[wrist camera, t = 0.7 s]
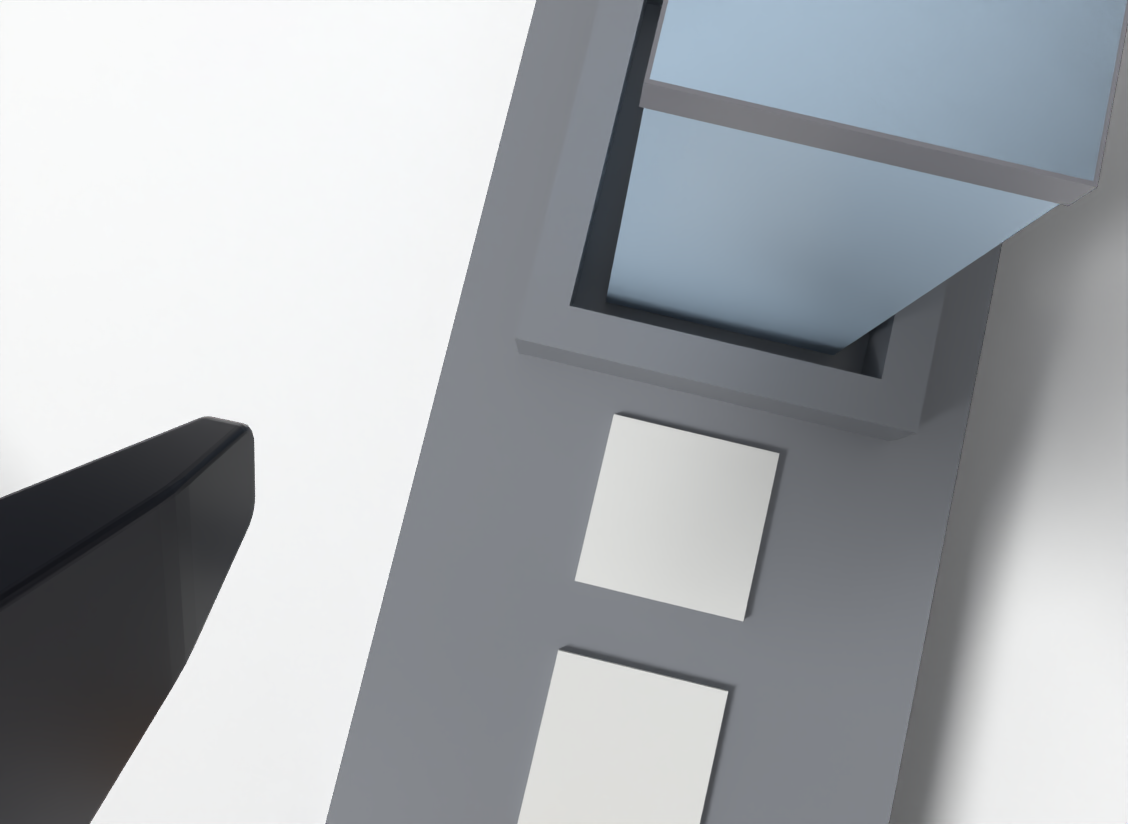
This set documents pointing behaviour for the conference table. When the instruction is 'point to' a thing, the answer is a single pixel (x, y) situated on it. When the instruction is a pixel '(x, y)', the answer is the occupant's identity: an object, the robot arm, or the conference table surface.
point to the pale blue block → (852, 152)
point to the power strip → (651, 517)
